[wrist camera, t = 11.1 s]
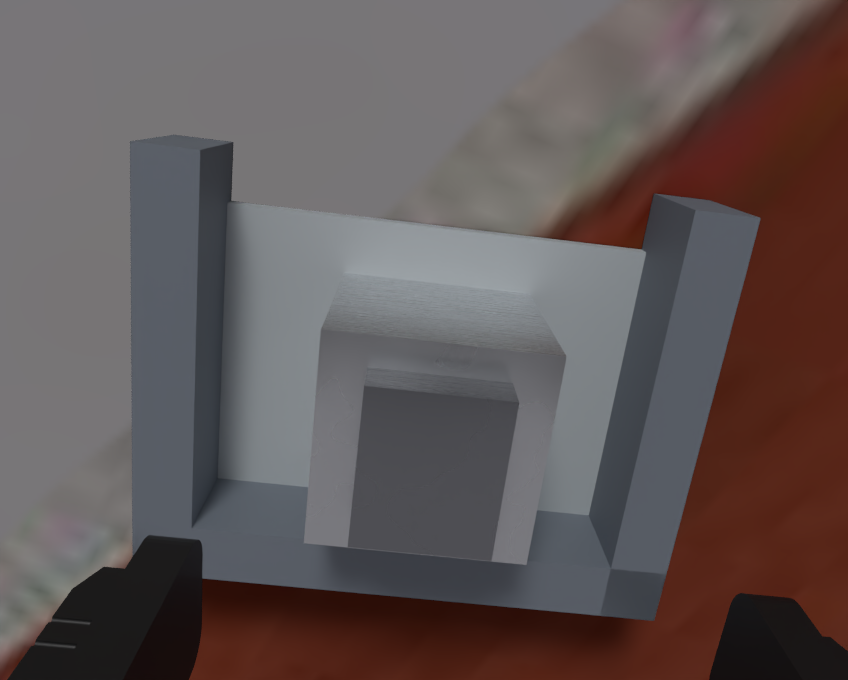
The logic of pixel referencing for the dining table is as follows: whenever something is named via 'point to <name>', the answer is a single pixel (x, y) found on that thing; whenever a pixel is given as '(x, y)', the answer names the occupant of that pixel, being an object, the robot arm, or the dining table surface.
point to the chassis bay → (298, 365)
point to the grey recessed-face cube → (431, 419)
